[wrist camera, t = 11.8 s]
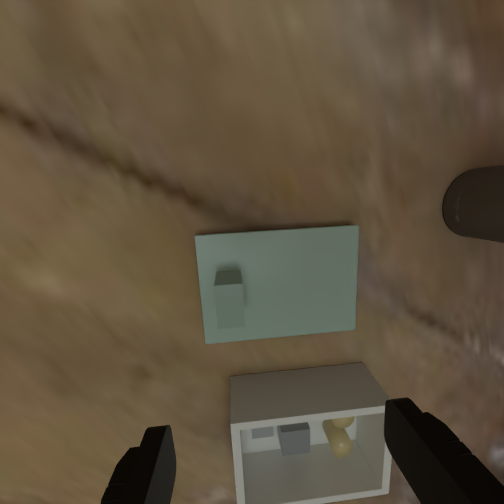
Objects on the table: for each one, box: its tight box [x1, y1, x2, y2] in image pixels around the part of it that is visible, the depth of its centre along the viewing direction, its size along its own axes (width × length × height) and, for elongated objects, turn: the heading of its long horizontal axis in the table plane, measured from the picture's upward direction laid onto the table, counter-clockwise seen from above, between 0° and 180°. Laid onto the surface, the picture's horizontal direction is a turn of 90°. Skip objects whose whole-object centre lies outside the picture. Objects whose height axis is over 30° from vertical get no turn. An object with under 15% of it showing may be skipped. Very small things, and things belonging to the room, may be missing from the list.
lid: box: [195, 225, 359, 344], centre depth 31 cm, size 20×14×8 cm
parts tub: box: [230, 362, 392, 504], centre depth 35 cm, size 20×14×8 cm
